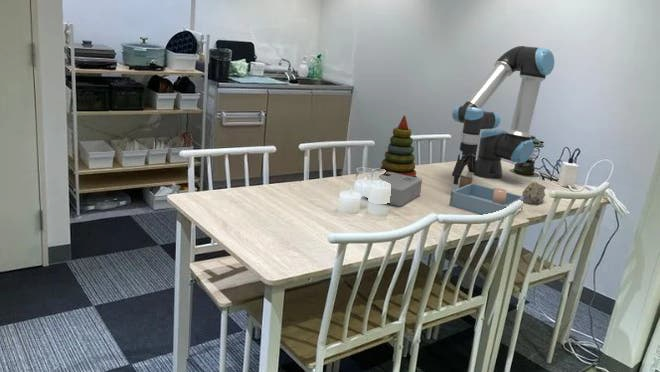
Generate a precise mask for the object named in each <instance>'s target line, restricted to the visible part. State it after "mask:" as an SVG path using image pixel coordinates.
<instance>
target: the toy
mask: <svg viewBox="0 0 660 372" xmlns="http://www.w3.org/2000/svg"><path fill="white" fill-rule="evenodd" d="M411 135H412V129H411V128H409V126H408V122H407V118H406V115H403V116H402V118H401V121H400V122H399V124H398V126H397V127H394V128H393V129H392V136H390V139H389V143H388V145H387V151H385V153H384V157H385V158H384V159H383V160H382V161H381V166H380V168H379V170H380V169H385V170H386V172H385V173H387V172H393V173H398V174H402V175H406V176H411V177H415V178H419V177H417V171H416V170H415V169H416V164H415V162H414V161H415V159H416V158H415V155H414V154H413V153H414V151H415V148H414V146H412V145H413V142H414V140H413V137H411ZM385 173H384V174H385Z"/></svg>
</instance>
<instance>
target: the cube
mask: <svg viewBox="0 0 660 372" xmlns="http://www.w3.org/2000/svg"><path fill="white" fill-rule="evenodd" d="M460 177H461V178H460V184H459V188H461V187H464V186H466V185H469V184H471V183H473V179H474V177H473V178H471V177H467V175H463V174H461V175H460Z"/></svg>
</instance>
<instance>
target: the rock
mask: <svg viewBox="0 0 660 372" xmlns="http://www.w3.org/2000/svg"><path fill="white" fill-rule="evenodd" d="M545 190H546V186H544V185H542V184H539V183H538V182H536V181H535V182H530V183H529V184H528V185H527V186H526V187H525V189H524V190H523V191H522V194H521V196H523V197H524V202H523V204H524V203H525V204H541V203H542V202H543V200H544V198H545V196H546V192H545Z"/></svg>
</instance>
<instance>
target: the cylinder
mask: <svg viewBox="0 0 660 372" xmlns="http://www.w3.org/2000/svg"><path fill="white" fill-rule="evenodd" d="M493 189H494V194H493V199H492V202H493V203H496V204H500V205H505V199H506V194H507V192H508V191H507V190H506V189H503V188H493Z"/></svg>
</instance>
